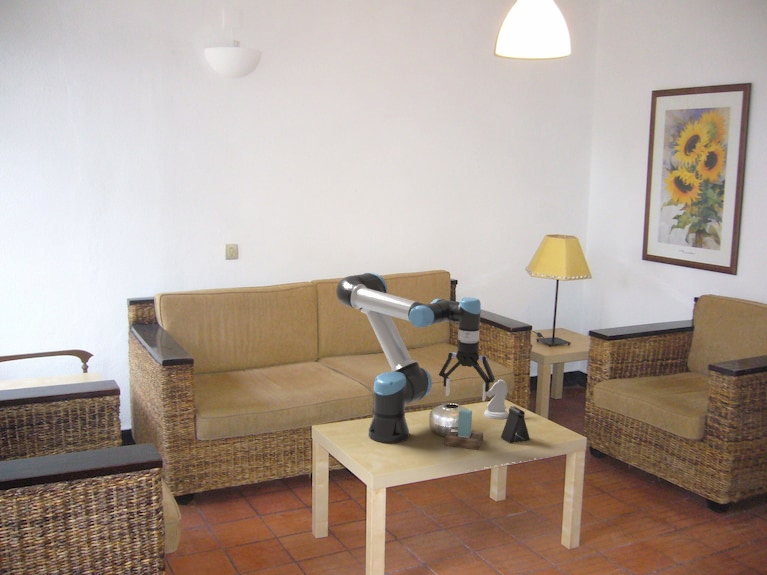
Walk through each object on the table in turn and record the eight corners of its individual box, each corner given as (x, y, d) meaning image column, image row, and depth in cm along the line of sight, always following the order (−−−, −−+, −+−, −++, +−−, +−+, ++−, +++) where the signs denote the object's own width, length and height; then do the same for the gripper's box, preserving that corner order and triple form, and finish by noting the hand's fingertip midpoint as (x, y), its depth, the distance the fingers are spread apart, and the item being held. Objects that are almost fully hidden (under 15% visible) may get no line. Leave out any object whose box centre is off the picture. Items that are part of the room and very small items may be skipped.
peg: (457, 443, 287) (458, 412, 285) (459, 440, 291) (461, 409, 289) (468, 445, 286) (469, 413, 284) (470, 441, 290) (472, 410, 288)
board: (444, 444, 286) (445, 437, 285) (451, 436, 295) (451, 428, 295) (477, 449, 282) (477, 441, 282) (483, 440, 291) (483, 432, 291)
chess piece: (482, 411, 325) (484, 376, 323) (506, 411, 326) (507, 376, 323) (485, 419, 316) (487, 383, 313) (510, 419, 316) (512, 383, 313)
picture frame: (520, 435, 298) (522, 404, 296) (529, 440, 293) (531, 409, 291) (500, 438, 294) (502, 407, 292) (509, 443, 289) (511, 412, 287)
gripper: (432, 339, 283) (429, 396, 286) (500, 346, 275) (497, 405, 278) (437, 335, 290) (435, 390, 293) (504, 342, 282) (501, 399, 285)
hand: (465, 397), depth 286 cm, fingers open, 13 cm apart
